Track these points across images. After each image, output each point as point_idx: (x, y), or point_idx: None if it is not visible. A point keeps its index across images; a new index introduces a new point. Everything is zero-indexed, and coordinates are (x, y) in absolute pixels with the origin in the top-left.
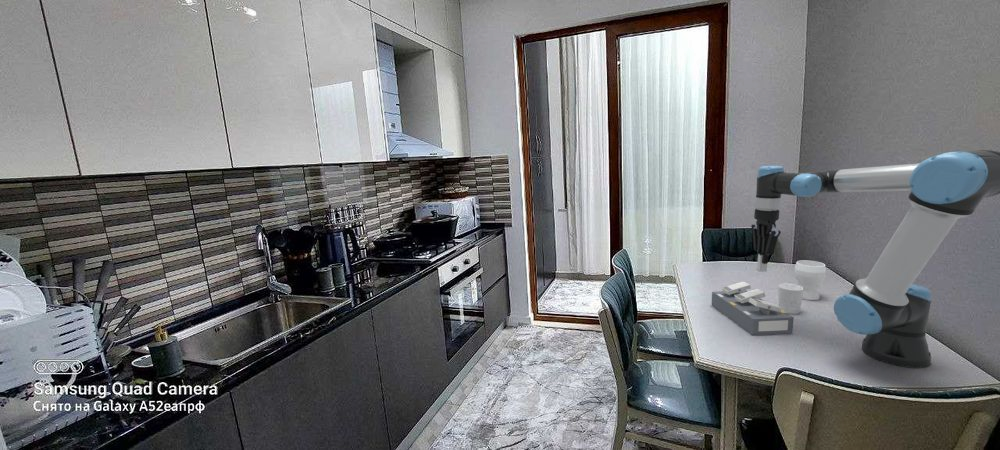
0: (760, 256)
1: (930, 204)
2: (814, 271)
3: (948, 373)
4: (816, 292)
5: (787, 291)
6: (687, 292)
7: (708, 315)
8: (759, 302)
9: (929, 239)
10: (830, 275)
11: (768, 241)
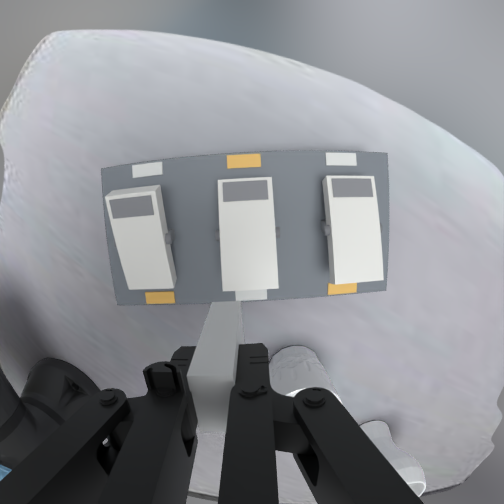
0: (192, 365)
1: None
2: None
3: None
4: None
5: (281, 392)
6: (464, 146)
7: (278, 104)
8: (107, 205)
9: None
10: (435, 483)
11: (20, 497)
